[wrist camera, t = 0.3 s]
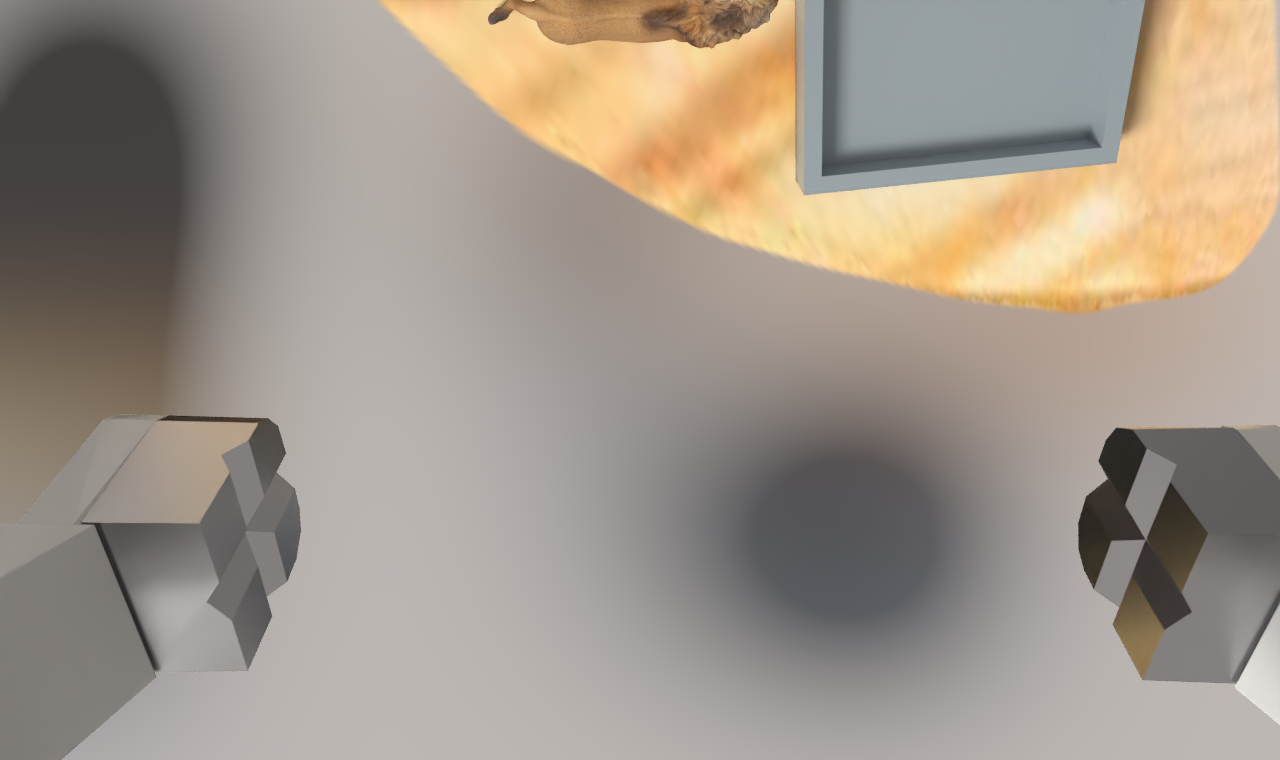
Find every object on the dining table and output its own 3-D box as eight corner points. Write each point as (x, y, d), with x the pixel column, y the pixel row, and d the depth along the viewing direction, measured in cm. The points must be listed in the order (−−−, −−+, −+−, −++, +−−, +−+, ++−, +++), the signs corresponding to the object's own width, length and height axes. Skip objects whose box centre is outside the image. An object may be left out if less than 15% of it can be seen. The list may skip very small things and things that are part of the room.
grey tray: (794, -122, 48) (804, -118, 46) (1147, -158, 48) (1173, -156, 46) (795, 180, 57) (804, 195, 55) (1096, 149, 57) (1116, 162, 55)
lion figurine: (751, -98, 49) (783, -80, 41) (765, 9, 52) (798, 44, 44) (475, -31, 50) (456, 0, 42) (504, 71, 53) (491, 117, 45)
